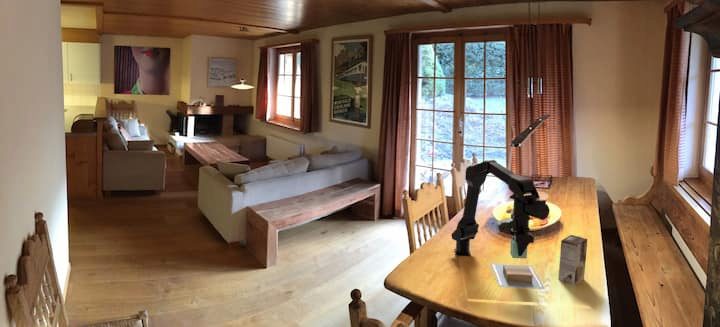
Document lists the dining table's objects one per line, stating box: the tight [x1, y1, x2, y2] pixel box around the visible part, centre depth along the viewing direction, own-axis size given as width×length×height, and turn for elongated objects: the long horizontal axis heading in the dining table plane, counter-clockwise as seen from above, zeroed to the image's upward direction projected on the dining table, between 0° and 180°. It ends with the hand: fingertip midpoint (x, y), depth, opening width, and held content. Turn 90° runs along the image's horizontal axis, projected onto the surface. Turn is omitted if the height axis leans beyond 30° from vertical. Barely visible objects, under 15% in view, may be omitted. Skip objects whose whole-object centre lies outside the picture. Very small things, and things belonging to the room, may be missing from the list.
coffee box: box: [557, 234, 588, 286], centre depth 183 cm, size 9×6×16 cm
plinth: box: [503, 264, 533, 283], centre depth 185 cm, size 9×9×3 cm
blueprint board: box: [490, 263, 546, 290], centre depth 187 cm, size 22×16×1 cm
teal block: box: [509, 237, 528, 259], centre depth 183 cm, size 5×5×6 cm
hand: (518, 253), depth 183 cm, fingers closed on teal block, 5 cm apart
